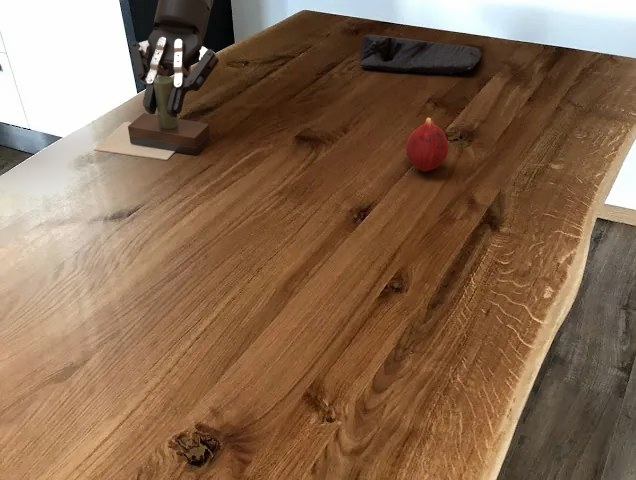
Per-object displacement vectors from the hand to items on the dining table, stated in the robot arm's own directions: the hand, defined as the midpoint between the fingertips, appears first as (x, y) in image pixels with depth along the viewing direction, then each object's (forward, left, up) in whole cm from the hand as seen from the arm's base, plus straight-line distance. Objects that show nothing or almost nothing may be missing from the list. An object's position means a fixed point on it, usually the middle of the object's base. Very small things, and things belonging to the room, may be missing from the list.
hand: (160, 113), depth 106 cm
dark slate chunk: (+31, +46, -6) cm, 55 cm away
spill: (-4, +2, -6) cm, 8 cm away
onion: (+39, +4, -6) cm, 39 cm away
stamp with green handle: (0, +2, -6) cm, 6 cm away
